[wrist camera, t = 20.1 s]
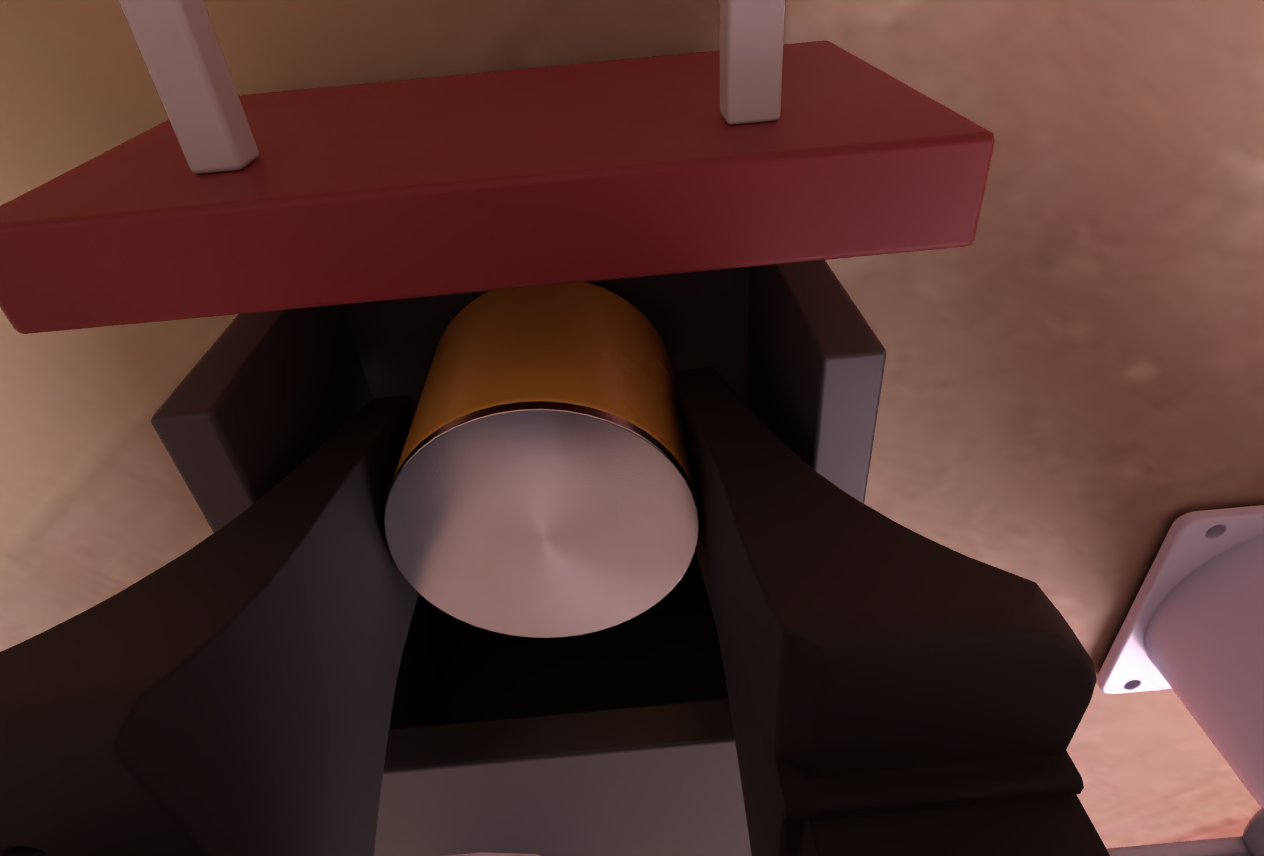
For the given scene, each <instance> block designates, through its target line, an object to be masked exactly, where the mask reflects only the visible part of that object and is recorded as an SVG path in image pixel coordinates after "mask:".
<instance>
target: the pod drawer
mask: <svg viewBox="0 0 1264 856" xmlns="http://www.w3.org/2000/svg"><path fill="white" fill-rule="evenodd" d="M119 3H120V5H121V7H122V10H123V12H124V14H125V17H126V19H127V21H128V24H129V26H130V28H131V31H132V33H133V36H134V38H135V40H136V43H137V45H138V47H139V50H140V52H141V54H142V57H143V59H144V61H145V64H146V66H147V68H148V71H149V73H150V76H151V78H152V80H153V83H154V85H155V87H156V90H157V92H158V94H159V97H160V99H161V101H162V104H163V106H164V108H165V111H166V113H167V115H168V118H169V120H167V121H165V122H163V123H161V124H159V125H158V126H156V127H154V128H152V129H150V130H148V131H146V132H144V133H142V134H140V135H138V136H136V137H134V138H132V139H130V140H128V141H126V142H125V143H123V144H121V145H119V146H117V147H115V148H113V149H111V150H109V151H107V152H105V153H103V154H101V155H99V156H97V157H95V158H93V159H91V160H90V161H88V162H86V163H84V164H82V165H80V166H78V167H76V168H74V169H72V170H70V171H68V172H66V173H64V174H62V175H60V176H58V177H56V178H55V179H53V180H51V181H49V182H47V183H45V184H43V185H41V186H39V187H37V188H35V189H33V190H31V191H29V192H27V193H25V194H23V195H21V196H20V197H18V198H16V199H14V200H12V201H10V202H8V203H6V204H4V205H2V206H0V307H1V309H2V310H3V312H4V313H5V315H6V316H7V318H8V319H9V321H10V322H11V324H12V326H13V327H14V329H15V330H17V331H18V332H19V333H23V334H28V333H38V332H49V331H60V330H71V329H81V328H92V327H103V326H114V325H125V324H135V323H146V322H157V321H168V320H178V319H189V318H200V317H211V316H222V315H232V314H239V315H238V316H237V317H236V318H235V319H234V321H233V322H232V323H231V324H230V325H229V327H228V328H227V329H226V330H225V331H224V332H223V334H222V335H221V336H220V337H219V338H218V340H217V341H216V342H215V343H214V344H213V345H212V347H211V348H210V349H209V350H208V351H207V353H206V354H205V355H204V356H203V357H202V358H201V360H200V361H199V362H198V363H197V364H196V365H195V367H194V368H193V369H192V370H191V371H190V373H189V374H188V375H187V376H186V377H185V378H184V380H183V381H182V382H181V383H180V384H179V386H178V387H177V388H176V389H175V390H174V391H173V393H172V394H171V395H170V396H169V397H168V399H167V400H166V401H165V402H164V403H163V404H162V406H161V407H160V408H159V409H158V410H157V412H156V413H155V414H154V415H153V416H152V419H151V421H152V425H153V427H154V428H155V430H156V432H157V434H158V435H159V437H160V439H161V441H162V442H163V444H164V446H165V448H166V449H167V451H168V453H169V455H170V456H171V458H172V460H173V462H174V463H175V465H176V467H177V469H178V470H179V472H180V474H181V476H182V477H183V479H184V481H185V483H186V484H187V486H188V488H189V490H190V491H191V493H192V495H193V497H194V498H195V500H196V502H197V504H198V505H199V507H200V509H201V511H202V512H203V514H204V516H205V518H206V519H207V521H208V523H209V525H210V526H211V528H212V530H213V532H214V533H215V532H216V531H218V530H219V529H221V528H222V527H224V526H225V525H226V524H228V523H229V522H230V521H232V520H233V519H234V518H236V517H237V516H239V515H240V514H241V513H242V512H244V511H245V510H246V509H248V508H249V507H250V506H251V505H253V504H254V503H255V502H256V501H257V500H259V499H260V498H261V497H262V496H263V495H265V494H266V493H267V492H268V491H269V490H271V489H272V488H273V487H274V486H275V485H277V484H278V483H279V482H280V481H281V480H283V479H284V478H285V477H286V476H287V475H289V474H290V473H291V472H292V471H293V470H295V469H296V468H297V467H298V466H299V465H300V464H301V463H302V462H304V461H305V460H306V459H307V458H308V457H309V456H310V455H311V454H312V453H313V452H315V451H316V450H317V449H318V448H319V447H320V446H321V445H322V444H323V443H324V442H325V441H327V440H328V439H329V438H330V437H331V436H332V435H333V434H334V433H335V432H336V431H337V430H338V429H340V428H341V427H342V426H343V425H344V424H345V423H346V422H347V421H348V420H349V419H350V418H351V417H353V416H354V415H355V414H356V413H357V412H358V411H359V410H360V409H361V408H363V407H364V406H365V405H366V404H367V403H369V402H370V401H371V400H372V399H374V398H383V397H394V396H405V395H410V396H411V399H412V403H413V406H414V409H415V412H416V409H417V406H418V403H419V400H420V397H421V394H422V391H423V388H424V385H425V382H426V379H427V376H428V373H429V370H430V367H431V364H432V361H433V358H434V355H435V352H436V349H437V346H438V344H439V341H440V339H441V337H442V335H443V333H444V331H445V330H446V328H447V327H448V325H449V324H450V322H451V321H452V320H453V319H454V318H455V317H456V315H457V314H458V313H459V312H460V311H461V310H462V309H463V308H464V307H466V306H467V305H468V304H469V303H471V302H472V301H473V300H475V299H476V298H478V297H479V296H481V295H483V294H484V293H486V292H488V291H491V290H502V289H513V288H523V287H534V286H545V285H556V284H566V283H577V282H587V283H590V284H593V285H596V286H599V287H602V288H604V289H606V290H608V291H610V292H612V293H614V294H616V295H618V296H620V297H621V298H623V299H624V300H626V301H627V302H629V303H630V304H632V305H633V306H634V307H635V308H636V309H638V310H639V311H640V312H641V313H642V314H643V315H644V316H645V317H646V318H647V319H648V320H649V322H650V323H651V324H652V325H653V326H654V328H655V329H656V331H657V332H658V334H659V335H660V337H661V339H662V341H663V343H664V345H665V347H666V349H667V352H668V356H669V359H670V362H671V367H672V372H673V378H674V383H675V388H676V373H675V370H684V369H695V368H706V367H713V368H714V369H715V370H716V371H717V372H718V373H719V374H720V375H721V377H722V378H723V379H724V380H725V382H726V383H727V384H728V385H729V387H730V388H731V389H732V390H733V391H734V393H735V394H736V395H737V396H738V397H739V398H740V399H741V401H742V402H743V403H744V404H745V405H746V406H747V407H748V408H749V409H750V411H751V412H752V413H753V414H754V415H755V416H756V417H757V418H758V419H759V420H760V421H761V422H762V423H763V424H764V425H765V426H766V427H767V428H768V429H769V430H770V431H771V432H772V433H773V434H774V435H775V436H776V437H777V438H778V439H779V440H780V441H781V442H782V443H784V444H785V445H786V446H787V447H788V448H789V449H790V450H791V451H792V452H794V453H795V454H796V455H797V456H798V457H799V458H801V459H802V460H803V461H804V462H805V463H806V464H808V465H809V466H810V467H811V468H813V469H814V470H815V471H816V472H818V473H819V474H820V475H822V476H823V477H825V478H826V479H827V480H829V481H830V482H832V483H833V484H834V485H836V486H837V487H839V488H840V489H841V490H843V491H844V492H846V493H847V494H849V495H850V496H852V497H854V498H855V499H857V500H858V501H860V502H861V503H863V504H864V500H865V493H866V486H867V479H868V473H869V466H870V459H871V453H872V446H873V439H874V432H875V426H876V419H877V412H878V405H879V399H880V392H881V385H882V379H883V372H884V365H885V358H886V350H885V348H884V347H883V345H882V344H881V342H880V341H879V340H878V338H877V337H876V335H875V334H874V332H873V331H872V329H871V328H870V326H869V325H868V323H867V322H866V320H865V319H864V317H863V316H862V314H861V313H860V311H859V310H858V308H857V307H856V305H855V304H854V302H853V301H852V300H851V298H850V297H849V295H848V294H847V292H846V291H845V289H844V288H843V286H842V285H841V283H840V282H839V280H838V279H837V277H836V276H835V274H834V273H833V271H832V270H831V268H830V267H829V265H828V264H827V262H826V261H825V259H836V258H847V257H857V256H868V255H879V254H890V253H901V252H911V251H922V250H933V249H944V248H954V247H965V246H969V245H971V244H972V243H973V241H974V238H975V233H976V228H977V223H978V218H979V214H980V209H981V204H982V199H983V194H984V190H985V185H986V180H987V175H988V170H989V166H990V161H991V156H992V151H993V146H994V135H993V133H992V132H990V131H988V130H986V129H985V128H983V127H981V126H979V125H978V124H976V123H974V122H972V121H970V120H969V119H967V118H965V117H963V116H961V115H960V114H958V113H956V112H954V111H952V110H951V109H949V108H947V107H945V106H944V105H942V104H940V103H938V102H936V101H935V100H933V99H931V98H929V97H927V96H926V95H924V94H922V93H920V92H919V91H917V90H915V89H913V88H911V87H910V86H908V85H906V84H904V83H902V82H901V81H899V80H897V79H895V78H893V77H892V76H890V75H888V74H886V73H885V72H883V71H881V70H879V69H877V68H876V67H874V66H872V65H870V64H868V63H867V62H865V61H863V60H861V59H859V58H858V57H856V56H854V55H852V54H851V53H849V52H847V51H845V50H843V49H842V48H840V47H838V46H836V45H834V44H833V43H831V42H829V41H817V42H806V43H796V44H785V45H783V40H784V16H785V0H719V12H720V51H710V52H699V53H689V54H678V55H667V56H657V57H646V58H635V59H624V60H614V61H603V62H592V63H582V64H571V65H560V66H550V67H539V68H528V69H517V70H507V71H496V72H485V73H475V74H464V75H453V76H443V77H432V78H421V79H411V80H400V81H389V82H378V83H368V84H357V85H346V86H336V87H325V88H314V89H304V90H293V91H282V92H271V93H261V94H250V95H239V96H238V93H237V91H236V88H235V85H234V83H233V80H232V77H231V74H230V72H229V69H228V66H227V63H226V61H225V58H224V55H223V52H222V50H221V47H220V44H219V42H218V39H217V36H216V33H215V31H214V28H213V25H212V22H211V20H210V17H209V14H208V11H207V9H206V6H205V3H204V1H203V0H119ZM723 698H728V692H727V686H726V679H725V673H724V667H723V660H722V654H721V648H720V643H719V639H718V634H717V629H716V625H715V621H714V617H713V613H712V610H711V606H710V602H709V598H708V594H707V591H706V587H705V583H704V579H703V576H702V572H701V568H700V564H699V561H698V557H697V553H696V552H695V554H694V556H693V559H692V561H691V564H690V566H689V568H688V569H687V571H686V572H685V574H684V576H683V577H682V579H681V580H680V581H679V582H678V584H677V585H676V586H675V587H674V588H673V589H672V591H671V592H669V593H668V594H667V595H666V596H665V597H664V598H663V599H662V600H661V601H659V602H658V603H657V604H655V605H654V606H652V607H651V608H650V609H648V610H647V611H645V612H643V613H642V614H640V615H638V616H636V617H634V618H633V619H630V620H628V621H626V622H623V623H621V624H619V625H617V626H613V627H610V628H607V629H604V630H601V631H597V632H593V633H588V634H584V635H577V636H570V637H558V638H529V637H520V636H512V635H506V634H502V633H497V632H492V631H489V630H485V629H482V628H479V627H475V626H473V625H470V624H468V623H466V622H463V621H461V620H458V619H456V618H454V617H453V616H451V615H449V614H447V613H445V612H443V611H442V610H440V609H439V608H437V607H436V606H434V605H433V604H431V603H430V602H428V601H427V600H426V599H425V598H424V597H422V596H421V595H420V594H418V598H417V602H416V605H415V609H414V613H413V616H412V620H411V624H410V627H409V631H408V635H407V638H406V642H405V646H404V649H403V653H402V657H401V662H400V666H399V671H398V675H397V681H396V687H395V694H394V700H393V706H392V713H391V719H390V726H389V729H395V728H406V727H417V726H428V725H439V724H450V723H461V722H471V721H482V720H493V719H504V718H515V717H526V716H537V715H548V714H559V713H570V712H581V711H592V710H603V709H614V708H625V707H636V706H647V705H658V704H668V703H679V702H690V701H701V700H712V699H723Z"/></svg>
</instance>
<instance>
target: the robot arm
mask: <svg viewBox="0 0 1264 856" xmlns="http://www.w3.org/2000/svg"><path fill="white" fill-rule="evenodd" d="M675 373H676V394H677V403H678V408H679V413H680V419H681V424H682V429H683V435H684V439H685V443H686V448H687V452H688V457H689V462H690V468H691V473H692V478H693V484H694V489H695V494H696V500H697V505H698V512H699V520H700V528H699V539H698V543H697V548H696V553H697V557H698V561H699V564H700V568H701V572H702V576H703V579H704V583H705V587H706V591H707V594H708V598H709V602H710V606H711V610H712V613H713V617H714V621H715V625H716V629H717V634H718V639H719V643H720V648H721V654H722V660H723V667H724V673H725V679H726V686H727V692H728V698H729V705H730V711H731V718H732V724H733V731H734V737H735V744H736V751H737V757H738V764H739V771H740V778H741V785H742V791H743V798H744V805H745V812H746V819H747V826H748V833H749V840H750V847H751V855H752V856H1264V505H1257V506H1246V507H1235V508H1224V509H1213V510H1203V511H1193V512H1188V513H1186V514H1184V515H1181V516H1180V517H1179V518H1177V519H1176V520H1175V521H1174V522H1173V524H1172V525H1171V527H1170V529H1169V531H1168V533H1167V535H1166V537H1165V539H1164V541H1163V544H1162V546H1161V548H1160V550H1159V552H1158V554H1157V556H1156V558H1155V560H1154V562H1153V564H1152V566H1151V568H1150V570H1149V572H1148V574H1147V576H1146V578H1145V580H1144V582H1143V584H1142V586H1141V588H1140V590H1139V592H1138V594H1137V596H1136V598H1135V600H1134V602H1133V604H1132V606H1131V608H1130V611H1129V613H1128V615H1127V617H1126V619H1125V621H1124V623H1123V625H1122V627H1121V629H1120V631H1119V633H1118V635H1117V637H1116V639H1115V641H1114V643H1113V645H1112V647H1111V649H1110V651H1109V653H1108V655H1107V657H1106V659H1105V661H1104V663H1103V665H1102V667H1101V669H1100V671H1099V673H1098V675H1097V678H1096V674H1095V669H1094V664H1093V661H1092V659H1091V658H1090V656H1089V655H1088V653H1087V652H1086V650H1085V649H1084V647H1083V646H1082V644H1081V643H1080V641H1079V640H1078V638H1077V637H1076V635H1075V634H1074V632H1073V630H1072V629H1071V628H1070V626H1069V625H1068V623H1067V622H1066V621H1065V619H1064V618H1063V616H1062V615H1061V613H1060V612H1059V611H1058V610H1057V609H1056V607H1055V606H1054V605H1053V604H1052V602H1051V601H1050V600H1049V599H1048V598H1047V596H1046V595H1045V594H1044V593H1043V591H1042V590H1041V589H1040V588H1039V586H1038V585H1037V584H1036V583H1035V582H1032V581H1030V580H1027V579H1025V578H1022V577H1019V576H1017V575H1014V574H1012V573H1009V572H1006V571H1004V570H1001V569H998V568H996V567H993V566H991V565H988V564H985V563H983V562H980V561H978V560H975V559H972V558H970V557H967V556H965V555H962V554H960V553H958V552H956V551H953V550H951V549H949V548H947V547H945V546H943V545H940V544H938V543H936V542H934V541H932V540H930V539H928V538H925V537H923V536H921V535H919V534H917V533H915V532H913V531H911V530H909V529H908V528H906V527H904V526H902V525H900V524H898V523H896V522H894V521H892V520H891V519H889V518H887V517H885V516H884V515H882V514H880V513H879V512H877V511H875V510H873V509H872V508H870V507H868V506H866V505H865V504H863V503H861V502H860V501H858V500H857V499H855V498H854V497H852V496H850V495H849V494H847V493H846V492H844V491H843V490H841V489H840V488H839V487H837V486H836V485H834V484H833V483H832V482H830V481H829V480H827V479H826V478H825V477H823V476H822V475H820V474H819V473H818V472H816V471H815V470H814V469H813V468H811V467H810V466H809V465H808V464H806V463H805V462H804V461H803V460H802V459H801V458H799V457H798V456H797V455H796V454H795V453H794V452H792V451H791V450H790V449H789V448H788V447H787V446H786V445H785V444H784V443H782V442H781V441H780V440H779V439H778V438H777V437H776V436H775V435H774V434H773V433H772V432H771V431H770V430H769V429H768V428H767V427H766V426H765V425H764V424H763V423H762V422H761V421H760V420H759V419H758V418H757V417H756V416H755V415H754V414H753V413H752V412H751V411H750V409H749V408H748V407H747V406H746V405H745V404H744V403H743V402H742V401H741V399H740V398H739V397H738V396H737V395H736V394H735V393H734V391H733V390H732V389H731V388H730V387H729V385H728V384H727V383H726V382H725V380H724V379H723V378H722V377H721V375H720V374H719V373H718V372H717V371H716V370H715V369H714V368H713V367H706V368H695V369H684V370H675ZM414 415H415V409H414V406H413V403H412V399H411V396H410V395H405V396H394V397H383V398H374V399H372V400H371V401H370V402H369V403H367V404H366V405H365V406H364V407H363V408H361V409H360V410H359V411H358V412H357V413H356V414H355V415H354V416H353V417H351V418H350V419H349V420H348V421H347V422H346V423H345V424H344V425H343V426H342V427H341V428H340V429H338V430H337V431H336V432H335V433H334V434H333V435H332V436H331V437H330V438H329V439H328V440H327V441H325V442H324V443H323V444H322V445H321V446H320V447H319V448H318V449H317V450H316V451H315V452H313V453H312V454H311V455H310V456H309V457H308V458H307V459H306V460H305V461H304V462H302V463H301V464H300V465H299V466H298V467H297V468H296V469H295V470H293V471H292V472H291V473H290V474H289V475H287V476H286V477H285V478H284V479H283V480H281V481H280V482H279V483H278V484H277V485H275V486H274V487H273V488H272V489H271V490H269V491H268V492H267V493H266V494H265V495H263V496H262V497H261V498H260V499H259V500H257V501H256V502H255V503H254V504H253V505H251V506H250V507H249V508H248V509H246V510H245V511H244V512H242V513H241V514H240V515H239V516H237V517H236V518H234V519H233V520H232V521H230V522H229V523H228V524H226V525H225V526H224V527H222V528H221V529H219V530H218V531H216V532H215V533H214V534H212V535H211V536H209V537H208V538H206V539H205V540H204V541H202V542H201V543H199V544H198V545H196V546H195V547H193V548H192V549H190V550H189V551H187V552H186V553H184V554H183V555H181V556H180V557H178V558H176V559H175V560H173V561H171V562H170V563H168V564H166V565H165V566H163V567H161V568H160V569H158V570H156V571H155V572H153V573H151V574H150V575H148V576H146V577H145V578H143V579H141V580H140V581H138V582H136V583H135V584H133V585H131V586H130V587H128V588H126V589H125V590H123V591H121V592H120V593H118V594H116V595H114V596H112V597H111V598H109V599H107V600H105V601H103V602H101V603H99V604H97V605H96V606H94V607H92V608H90V609H88V610H86V611H84V612H83V613H81V614H79V615H77V616H75V617H73V618H71V619H69V620H67V621H65V622H63V623H61V624H59V625H57V626H55V627H53V628H51V629H49V630H47V631H45V632H43V633H41V634H39V635H36V636H34V637H32V638H30V639H28V640H26V641H24V642H22V643H20V644H17V645H15V646H13V647H11V648H8V649H6V650H4V651H2V652H0V856H374V850H375V840H376V831H377V822H378V812H379V803H380V793H381V786H382V778H383V770H384V763H385V755H386V747H387V740H388V732H389V726H390V719H391V713H392V706H393V700H394V694H395V687H396V681H397V675H398V671H399V666H400V662H401V657H402V653H403V649H404V646H405V642H406V638H407V635H408V631H409V627H410V624H411V620H412V616H413V613H414V609H415V605H416V602H417V598H418V594H419V593H418V592H417V591H416V590H415V589H414V588H413V587H412V586H411V585H410V584H409V583H408V582H407V580H406V579H405V578H404V576H403V575H402V574H401V572H400V571H399V569H398V568H397V566H396V564H395V562H394V560H393V558H392V556H391V554H390V551H389V548H388V544H387V541H386V537H385V529H384V512H385V504H386V500H387V497H388V493H389V490H390V487H391V484H392V481H393V478H394V475H395V472H396V469H397V466H398V463H399V460H400V457H401V454H402V451H403V448H404V445H405V442H406V439H407V436H408V433H409V430H410V427H411V424H412V421H413V418H414ZM1096 683H1097V685H1098V686H1099V688H1100V689H1101V691H1102V692H1104V693H1106V694H1120V693H1131V692H1142V691H1153V690H1164V689H1173V690H1174V692H1175V693H1176V694H1177V696H1178V697H1179V698H1180V700H1181V701H1182V702H1183V704H1184V705H1185V706H1186V708H1187V709H1188V711H1189V712H1190V713H1191V715H1192V716H1193V717H1194V719H1195V720H1196V721H1197V723H1198V724H1199V725H1200V727H1201V728H1202V729H1203V731H1204V732H1205V733H1206V735H1207V736H1208V737H1209V739H1210V740H1211V741H1212V743H1213V744H1214V745H1215V747H1216V748H1217V749H1218V751H1219V752H1220V753H1221V755H1222V756H1223V757H1224V759H1225V760H1226V761H1227V763H1228V764H1229V765H1230V767H1231V768H1232V769H1233V771H1234V772H1235V773H1236V775H1237V776H1238V777H1239V779H1240V780H1241V781H1242V783H1243V784H1244V785H1245V787H1246V788H1247V789H1248V791H1249V792H1250V793H1251V795H1252V796H1253V797H1254V799H1255V800H1256V801H1257V803H1258V804H1259V805H1260V807H1261V808H1262V809H1261V810H1259V811H1258V812H1257V813H1256V814H1255V815H1254V816H1253V817H1252V819H1251V820H1250V821H1249V823H1248V825H1247V826H1246V828H1245V830H1244V833H1243V836H1240V837H1229V838H1219V839H1208V840H1197V841H1186V842H1175V843H1164V844H1153V845H1142V846H1131V847H1120V848H1110V849H1106V847H1105V846H1104V844H1103V842H1102V840H1101V838H1100V837H1099V835H1098V833H1097V831H1096V829H1095V828H1094V826H1093V824H1092V822H1091V820H1090V818H1089V817H1088V815H1087V813H1086V811H1085V809H1084V808H1083V806H1082V804H1081V802H1080V800H1079V799H1078V797H1077V795H1076V794H1080V793H1081V791H1082V789H1083V788H1084V786H1083V781H1082V777H1081V776H1080V774H1079V772H1078V770H1077V769H1076V767H1075V765H1074V763H1073V762H1072V760H1071V758H1070V756H1069V754H1068V753H1067V751H1066V749H1067V747H1068V745H1069V743H1070V741H1071V739H1072V737H1073V735H1074V733H1075V731H1076V729H1077V727H1078V725H1079V723H1080V721H1081V719H1082V717H1083V715H1084V713H1085V711H1086V709H1087V707H1088V705H1089V703H1090V700H1091V698H1092V694H1093V691H1094V687H1095V684H1096ZM447 856H540V855H537V854H516V853H485V852H480V853H469V854H458V855H447Z"/></svg>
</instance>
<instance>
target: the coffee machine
mask: <svg viewBox="0 0 1264 856" xmlns="http://www.w3.org/2000/svg"><path fill="white" fill-rule="evenodd" d="M480 852H485V853H516V854H537V855H540V856H752V855H751V847H750V840H749V833H748V826H747V819H746V812H745V805H744V798H743V791H742V785H741V778H740V771H739V764H738V757H737V751H736V744H735V737H734V731H733V724H732V718H731V711H730V705H729V698H723V699H712V700H701V701H690V702H679V703H668V704H658V705H647V706H636V707H625V708H614V709H603V710H592V711H581V712H570V713H559V714H548V715H537V716H526V717H515V718H504V719H493V720H482V721H471V722H461V723H450V724H439V725H428V726H417V727H406V728H395V729H389V732H388V740H387V747H386V755H385V763H384V770H383V778H382V786H381V793H380V803H379V812H378V822H377V831H376V840H375V850H374V856H447V855H458V854H469V853H480Z"/></svg>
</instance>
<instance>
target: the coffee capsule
mask: <svg viewBox="0 0 1264 856" xmlns="http://www.w3.org/2000/svg"><path fill="white" fill-rule="evenodd" d="M699 528H700V520H699V512H698V505H697V500H696V494H695V489H694V484H693V478H692V473H691V468H690V462H689V457H688V452H687V448H686V443H685V439H684V435H683V429H682V424H681V419H680V413H679V408H678V403H677V394H676V388H675V383H674V378H673V372H672V367H671V362H670V359H669V356H668V352H667V349H666V347H665V345H664V343H663V341H662V339H661V337H660V335H659V334H658V332H657V331H656V329H655V328H654V326H653V325H652V324H651V323H650V322H649V320H648V319H647V318H646V317H645V316H644V315H643V314H642V313H641V312H640V311H639V310H638V309H636V308H635V307H634V306H633V305H632V304H630V303H629V302H627V301H626V300H624V299H623V298H621V297H620V296H618V295H616V294H614V293H612V292H610V291H608V290H606V289H604V288H602V287H599V286H596V285H593V284H590V283H587V282H577V283H566V284H556V285H545V286H534V287H523V288H513V289H502V290H491V291H488V292H486V293H484V294H483V295H481V296H479V297H478V298H476V299H475V300H473V301H472V302H471V303H469V304H468V305H467V306H466V307H464V308H463V309H462V310H461V311H460V312H459V313H458V314H457V315H456V317H455V318H454V319H453V320H452V321H451V322H450V324H449V325H448V327H447V328H446V330H445V331H444V333H443V335H442V337H441V339H440V341H439V344H438V346H437V349H436V352H435V355H434V358H433V361H432V364H431V367H430V370H429V373H428V376H427V379H426V382H425V385H424V388H423V391H422V394H421V397H420V400H419V403H418V406H417V409H416V412H415V415H414V418H413V421H412V424H411V427H410V430H409V433H408V436H407V439H406V442H405V445H404V448H403V451H402V454H401V457H400V460H399V463H398V466H397V469H396V472H395V475H394V478H393V481H392V484H391V487H390V490H389V493H388V497H387V500H386V504H385V512H384V529H385V537H386V541H387V544H388V548H389V551H390V554H391V556H392V558H393V560H394V562H395V564H396V566H397V568H398V569H399V571H400V572H401V574H402V575H403V576H404V578H405V579H406V580H407V582H408V583H409V584H410V585H411V586H412V587H413V588H414V589H415V590H416V591H417V592H418V593H419V594H420V595H421V596H422V597H424V598H425V599H426V600H427V601H428V602H430V603H431V604H433V605H434V606H436V607H437V608H439V609H440V610H442V611H443V612H445V613H447V614H449V615H451V616H453V617H454V618H456V619H458V620H461V621H463V622H466V623H468V624H470V625H473V626H475V627H479V628H482V629H485V630H489V631H492V632H497V633H502V634H506V635H512V636H520V637H529V638H558V637H570V636H577V635H584V634H588V633H593V632H597V631H601V630H604V629H607V628H610V627H613V626H617V625H619V624H621V623H623V622H626V621H628V620H630V619H633V618H634V617H636V616H638V615H640V614H642V613H643V612H645V611H647V610H648V609H650V608H651V607H652V606H654V605H655V604H657V603H658V602H659V601H661V600H662V599H663V598H664V597H665V596H666V595H667V594H668V593H669V592H671V591H672V589H673V588H674V587H675V586H676V585H677V584H678V582H679V581H680V580H681V579H682V577H683V576H684V574H685V572H686V571H687V569H688V568H689V566H690V564H691V561H692V559H693V556H694V554H695V552H696V548H697V543H698V539H699Z"/></svg>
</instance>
